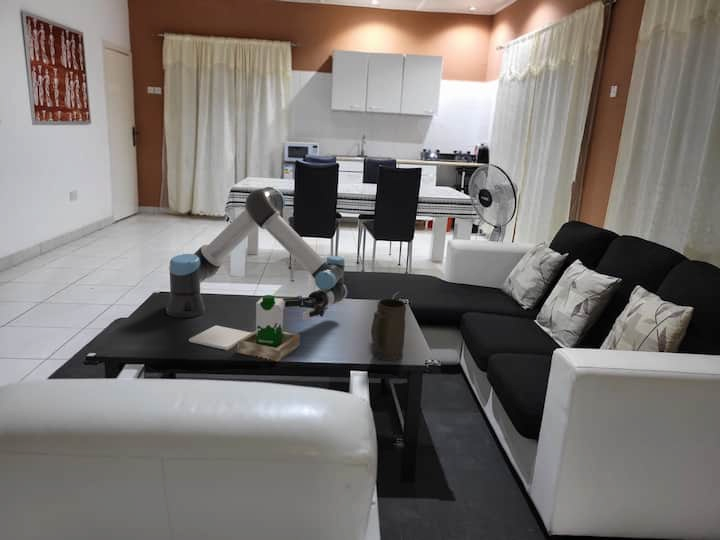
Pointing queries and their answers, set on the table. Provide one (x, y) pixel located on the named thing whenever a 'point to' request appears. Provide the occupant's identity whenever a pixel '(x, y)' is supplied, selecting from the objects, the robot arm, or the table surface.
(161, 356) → the table surface
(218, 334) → the tile
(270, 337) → the soya milk
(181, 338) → the table surface
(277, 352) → the wooden square tray
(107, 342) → the table surface
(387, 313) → the beer stein
